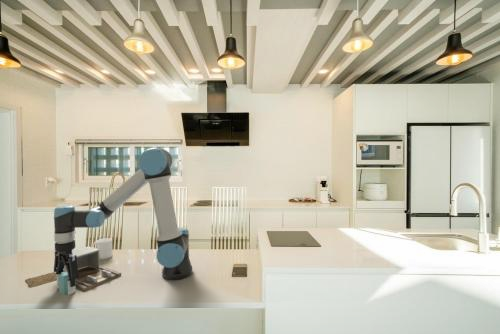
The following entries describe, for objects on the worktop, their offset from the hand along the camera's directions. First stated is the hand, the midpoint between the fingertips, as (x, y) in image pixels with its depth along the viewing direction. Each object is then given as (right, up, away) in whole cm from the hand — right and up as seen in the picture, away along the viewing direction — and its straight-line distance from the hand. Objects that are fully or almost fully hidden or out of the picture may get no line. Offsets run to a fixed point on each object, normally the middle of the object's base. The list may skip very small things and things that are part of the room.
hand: (66, 290), depth 119 cm
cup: (-7, +1, +41) cm, 41 cm away
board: (+2, 0, +14) cm, 14 cm away
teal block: (0, 0, 0) cm, 0 cm away
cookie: (-19, 0, +11) cm, 22 cm away
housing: (-3, +2, +17) cm, 17 cm away
